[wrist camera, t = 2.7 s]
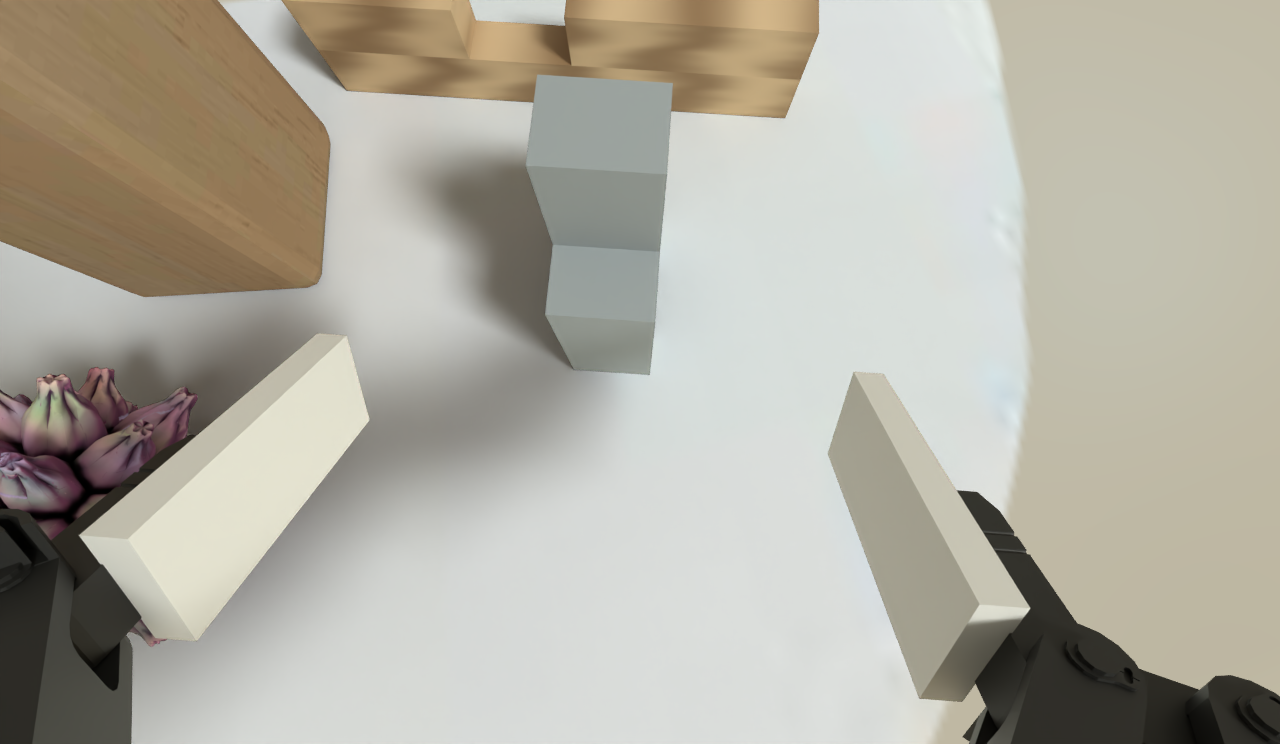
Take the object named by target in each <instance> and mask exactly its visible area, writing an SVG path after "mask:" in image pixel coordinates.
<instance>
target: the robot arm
mask: <svg viewBox="0 0 1280 744" xmlns="http://www.w3.org/2000/svg"><path fill="white" fill-rule="evenodd" d="M369 420H370V419H369V416H368V412H367V408H366V405H365V401H364V397H363V394H362V390H361V386H360V383H359V379H358V375H357V371H356V368H355V364H354V360H353V357H352V353H351V349H350V346H349V342H348V338H347V335H333V334H319V333H317V334H316V335H315V336H314V337H313V338H312V339H310V340H309V341H308V342H307V343H306V344H304V345H303V346H302V347H301V348H300V349H299V350H297V351H296V352H295V353H294V354H293V355H291V356H290V357H289V358H288V359H287V360H286V361H284V362H283V363H282V364H281V365H280V366H278V367H277V368H276V369H275V370H274V371H273V372H271V373H270V374H269V375H268V376H267V377H265V378H264V379H263V380H262V381H261V382H260V383H258V384H257V385H256V386H255V387H254V388H252V389H251V390H250V391H249V392H248V393H247V394H245V395H244V396H243V397H242V398H241V399H239V400H238V401H237V402H236V403H235V404H234V405H232V406H231V407H230V408H229V409H228V410H226V411H225V412H224V413H223V414H222V415H221V416H219V417H218V418H217V419H216V420H215V421H213V422H212V423H211V424H210V425H209V426H208V427H206V428H205V429H204V430H203V431H202V432H200V433H199V434H198V435H197V436H196V435H189V436H187V437H186V438H184V439H182V440H180V441H178V442H176V443H174V444H172V445H170V446H168V447H166V448H164V449H163V450H161V451H160V452H158V453H157V454H156V455H155V456H154V457H152V458H151V459H150V460H149V461H147V462H146V463H145V464H144V465H143V466H141V467H140V468H139V472H134V473H133V474H132V475H130V476H129V477H128V478H127V479H125V480H124V481H123V482H122V483H121V486H120V487H116V488H114V489H113V490H112V491H111V492H109V493H108V494H107V495H106V496H105V497H103V498H102V499H101V500H100V501H98V502H97V503H96V504H95V505H94V506H92V507H91V508H90V509H89V510H87V511H86V512H85V513H84V514H83V515H81V516H80V517H79V518H78V519H76V520H75V521H74V522H73V523H71V524H70V525H69V526H68V527H67V528H65V529H64V530H63V531H62V532H60V533H59V534H58V535H57V536H56V537H54V538H53V539H52V540H50V539H49V538H48V536H47V535H46V534H45V532H44V531H43V530H42V529H41V527H40V526H39V525H38V524H37V522H36V521H35V520H34V519H33V517H32V516H31V515H30V514H29V513H27V512H25V511H22V510H20V509H0V744H131V726H132V653H133V648H132V646H131V643H130V640H129V639H128V637H127V636H126V634H127V633H128V632H129V631H130V630H131V629H132V628H133V627H134V626H135V624H136V623H137V622H138V621H139V620H140V619H141V620H142V621H143V622H144V624H145V625H146V626H147V628H148V629H149V630H150V632H151V633H152V634H153V636H154V637H155V638H160V639H172V640H185V641H197V640H198V639H199V638H200V637H201V635H202V634H203V633H204V631H205V630H206V629H207V628H208V626H209V625H210V624H211V622H212V621H213V620H214V619H215V617H216V616H217V615H218V614H219V612H220V611H221V610H222V608H223V607H224V606H225V605H226V603H227V602H228V601H229V599H230V598H231V597H232V596H233V594H234V593H235V592H236V590H237V589H238V588H239V587H240V585H241V584H242V583H243V582H244V580H245V579H246V578H247V576H248V575H249V574H250V573H251V571H252V570H253V569H254V567H255V566H256V565H257V564H258V562H259V561H260V560H261V558H262V557H263V556H264V555H265V553H266V552H267V551H268V550H269V548H270V547H271V546H272V544H273V543H274V542H275V541H276V539H277V538H278V537H279V535H280V534H281V533H282V532H283V530H284V529H285V528H286V526H287V525H288V524H289V523H290V521H291V520H292V519H293V518H294V516H295V515H296V514H297V512H298V511H299V510H300V509H301V507H302V506H303V505H304V503H305V502H306V501H307V500H308V498H309V497H310V496H311V494H312V493H313V492H314V491H315V489H316V488H317V487H318V486H319V484H320V483H321V482H322V480H323V479H324V478H325V477H326V475H327V474H328V473H329V471H330V470H331V469H332V468H333V466H334V465H335V464H336V462H337V461H338V460H339V459H340V457H341V456H342V455H343V454H344V452H345V451H346V450H347V448H348V447H349V446H350V445H351V443H352V442H353V441H354V439H355V438H356V437H357V436H358V434H359V433H360V432H361V430H362V429H363V428H364V427H365V425H366V424H367V423H368V422H369ZM828 456H829V458H830V461H831V464H832V466H833V469H834V472H835V474H836V477H837V480H838V483H839V485H840V488H841V491H842V493H843V496H844V499H845V501H846V504H847V507H848V509H849V512H850V515H851V517H852V520H853V523H854V525H855V528H856V531H857V533H858V536H859V539H860V541H861V544H862V547H863V549H864V552H865V555H866V557H867V560H868V563H869V565H870V568H871V571H872V573H873V576H874V579H875V581H876V584H877V587H878V589H879V592H880V595H881V597H882V600H883V603H884V606H885V608H886V611H887V614H888V616H889V619H890V622H891V624H892V627H893V630H894V632H895V635H896V638H897V640H898V643H899V646H900V648H901V651H902V654H903V656H904V659H905V662H906V664H907V667H908V670H909V672H910V675H911V678H912V680H913V683H914V686H915V688H916V691H917V694H918V696H919V699H932V700H945V701H957V702H962V701H963V700H964V699H965V697H966V696H967V694H968V693H969V692H970V690H971V689H972V688H973V686H974V685H975V684H976V685H977V688H978V690H979V692H980V694H981V696H982V698H983V700H984V703H985V704H986V707H985V709H984V710H983V711H982V713H981V714H980V715H979V716H978V718H977V719H976V720H975V722H974V723H973V724H972V725H971V727H970V728H969V729H968V730H967V732H966V733H965V734H964V736H963V737H964V738H965V739H966V740H968V741H970V742H969V744H1280V696H1278V695H1277V694H1276V693H1274V692H1272V691H1270V690H1268V689H1266V688H1264V687H1262V686H1260V685H1258V684H1256V683H1254V682H1252V681H1249V680H1245V679H1242V678H1239V677H1235V676H1231V675H1228V676H1215V677H1214V678H1213V679H1212V680H1211V681H1209V682H1208V683H1207V684H1206V685H1205V686H1204V687H1202V688H1201V689H1200V690H1198V689H1195V688H1193V687H1190V686H1187V685H1184V684H1181V683H1178V682H1175V681H1172V680H1169V679H1166V678H1164V677H1161V676H1158V675H1155V674H1152V673H1149V672H1146V671H1143V670H1141V669H1139V668H1138V667H1137V665H1136V664H1135V662H1134V661H1133V660H1132V659H1131V658H1130V657H1129V656H1128V655H1127V654H1126V653H1125V652H1124V651H1123V650H1122V649H1121V648H1120V647H1119V646H1118V645H1117V644H1115V643H1114V642H1112V641H1111V640H1109V639H1108V638H1106V637H1105V636H1103V635H1102V634H1101V633H1099V632H1097V631H1094V630H1092V629H1090V628H1087V627H1085V626H1083V625H1080V624H1077V622H1076V621H1075V620H1074V618H1073V617H1072V615H1071V614H1070V613H1069V611H1068V610H1067V609H1066V607H1065V605H1064V604H1063V602H1062V601H1061V599H1060V598H1059V597H1058V595H1057V594H1056V592H1055V591H1054V589H1053V588H1052V586H1051V585H1050V583H1049V582H1048V581H1047V579H1046V578H1045V576H1044V575H1043V573H1042V572H1041V570H1040V569H1039V568H1038V566H1037V565H1036V563H1035V562H1034V560H1033V559H1032V557H1031V556H1030V555H1028V554H1027V553H1026V549H1025V547H1024V546H1023V545H1022V543H1021V541H1020V540H1019V539H1018V537H1015V536H1014V531H1013V530H1012V528H1011V527H1010V525H1009V524H1008V523H1007V521H1006V520H1005V518H1004V517H1003V515H1002V514H1001V512H1000V511H999V510H998V509H997V508H995V507H994V506H993V505H992V504H991V503H989V502H988V501H987V500H986V499H985V498H984V497H982V496H981V495H980V494H979V493H978V492H971V491H957V490H956V489H955V487H954V486H953V484H952V482H951V481H950V479H949V478H948V476H947V474H946V473H945V471H944V470H943V468H942V466H941V465H940V463H939V462H938V460H937V458H936V457H935V455H934V454H933V452H932V450H931V449H930V447H929V446H928V444H927V442H926V441H925V439H924V438H923V436H922V434H921V433H920V431H919V430H918V428H917V426H916V425H915V423H914V422H913V420H912V418H911V417H910V415H909V414H908V412H907V410H906V409H905V407H904V406H903V404H902V402H901V401H900V399H899V398H898V396H897V394H896V393H895V391H894V390H893V388H892V387H891V385H890V383H889V382H888V380H887V379H886V377H885V375H884V374H877V373H863V372H853V376H852V379H851V382H850V385H849V388H848V391H847V394H846V398H845V401H844V404H843V407H842V410H841V413H840V417H839V420H838V423H837V426H836V429H835V432H834V435H833V439H832V442H831V445H830V448H829V451H828Z"/></svg>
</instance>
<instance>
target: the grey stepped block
mask: <svg viewBox="0 0 1280 744" xmlns="http://www.w3.org/2000/svg"><path fill="white" fill-rule="evenodd" d="M672 88H673V83H663V82H647V81H631V80H615V79H599V78H583V77H567V76H551V75H537V80H536V88H535V96H534V104H533V111H532V119H531V127H530V135H529V142H528V150H527V158H526V168H527V171H528V174H529V177H530V180H531V183H532V186H533V188H534V191H535V194H536V197H537V200H538V203H539V206H540V209H541V212H542V215H543V218H544V220H545V223H546V226H547V229H548V232H549V235H550V238H551V241H552V244H553V248H552V257H551V266H550V275H549V284H548V293H547V302H546V310H545V316H546V318H547V320H548V321H549V323H550V325H551V327H552V329H553V331H554V333H555V335H556V337H557V339H558V340H559V342H560V344H561V346H562V348H563V350H564V352H565V354H566V356H567V358H568V359H569V361H570V363H571V365H572V367H573V369H574V370H586V371H601V372H615V373H630V374H645V375H650V367H651V357H652V348H653V338H654V329H655V317H656V302H657V287H658V271H659V256H660V244H661V233H662V223H663V212H664V201H665V190H666V179H667V166H668V151H669V135H670V120H671V104H672Z"/></svg>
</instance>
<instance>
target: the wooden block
mask: <svg viewBox="0 0 1280 744" xmlns="http://www.w3.org/2000/svg"><path fill="white" fill-rule="evenodd" d="M329 157H330V140H329V136H328V133H327V131H326V128H325V126H324V124H323V123H322V122H321V121H320V120H319V118H318V117H317V116H316V115H315V114H314V113H313V111H312V110H311V109H310V108H309V107H308V106H307V104H306V103H305V102H304V101H303V100H302V99H301V97H300V96H299V95H298V94H297V93H296V92H295V90H294V89H293V88H292V87H291V86H290V85H289V83H288V82H287V81H286V80H285V79H284V78H283V76H282V75H281V74H280V73H279V72H278V71H277V69H276V68H275V67H274V66H273V65H272V64H271V62H270V61H269V60H268V59H267V58H266V56H265V55H264V54H263V53H262V52H261V51H260V49H259V48H258V47H257V46H256V45H255V44H254V42H253V41H252V40H251V39H250V38H249V37H248V35H247V34H246V33H245V32H244V31H243V30H242V28H241V27H240V26H239V25H238V24H237V23H236V21H235V20H234V19H233V18H232V17H231V16H230V14H229V13H228V12H227V11H226V10H225V9H224V7H223V6H222V5H221V4H220V3H219V2H218V0H0V241H1V242H4V243H6V244H9V245H12V246H14V247H17V248H19V249H22V250H24V251H27V252H29V253H32V254H34V255H37V256H40V257H42V258H45V259H47V260H50V261H52V262H55V263H57V264H60V265H62V266H65V267H68V268H70V269H73V270H75V271H78V272H80V273H83V274H85V275H88V276H90V277H93V278H96V279H98V280H101V281H103V282H106V283H108V284H111V285H113V286H116V287H119V288H121V289H124V290H126V291H129V292H131V293H134V294H137V295H140V296H143V297H154V296H172V295H189V294H206V293H222V292H239V291H256V290H273V289H290V288H306V287H310V286H312V285H315V284H317V283H318V281H319V279H320V277H321V275H322V261H323V247H324V232H325V217H326V202H327V187H328V172H329Z"/></svg>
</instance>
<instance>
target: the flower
mask: <svg viewBox="0 0 1280 744" xmlns="http://www.w3.org/2000/svg"><path fill="white" fill-rule="evenodd" d="M36 382H37V396H36V399H35V400H34V401H33V403H32V401H31V400H30V399H29V398H27V397H26V396H24V395H23V394H19V395H17V396H16V397H15V398H12V397H10V396H9V395H7V394H5V393H4V392H2V391H1V390H0V509H20V510H22V511H25V512H27V513H29V514H30V515H31V516H32V517H33V519H34V520H35V521H36V522H37V524H38V525H39V526H40V527H41V529H42V530H43V531H44V532H45V534H46V535H47V536H48V538H49V539H50V540H52V539H53V538H54V537H56V536H57V535H58V534H59V533H60V532H62V531H63V530H64V529H65V528H67V527H68V526H69V525H70V524H71V523H73V522H74V521H75V520H76V519H78V518H79V517H80V516H81V515H83V514H84V513H85V512H86V511H87V510H89V509H90V508H91V507H92V506H94V505H95V504H96V503H97V502H98V501H100V500H101V499H102V498H103V497H105V496H106V495H107V494H108V493H109V492H111V491H112V490H113V489H114V488H116V487H120V486H121V483H122V482H123V481H124V480H125V479H127V478H128V477H129V476H130V475H132V474H133V473H134V472H139V468H140V467H141V466H143V465H144V464H145V463H146V462H147V461H149V460H150V459H151V458H152V457H154V456H155V455H156V454H157V453H158V452H160V451H161V450H163V449H164V448H166V447H168V446H170V445H172V444H174V443H176V442H178V441H180V440H182V439H184V438H186V436H187V432H188V430H187V429H188V423H189V415H190V411H191V409H192V407H193V406H194V405H195V403H196V401H197V399H198V397H197V394H194V393H188V389H187V388H186V387H180V388H178V389H176V390H175V391H174V392H173V393H172V394H171V395H170V396H169V397H168V398H166V399H165V400H163V401H161V402H157V403H154V404H151V405H148V406H145V407H142V408H140V409H138V407H137V405H136V406H134V405H133V404H132V403H131V402H128V401H125V400H124V399H123V398H122V396H121V394H120V393H119V391H118V390H117V388H116V387H115V383H114V370H113V369H110V370H109V369H108V368H104V369H99V368H97V367H95V368H91V369H90V370H89V372H88V376H87V379H86V382H85V384H84V385H83V386H82V387H81V389H80V390H79V391H78V392H76V391H75V390H74V389H73V387H72V384H71V381H70V379H69V378H68V377H67V376H66V375H65V374H61V375H58V376H56V375H51V374H48V375H47V376H45V377H43V378H41V377H39V378H37V380H36ZM129 632H133V633H135V634H138V635H139V636H141V637H142V638H143V639H144V640H145V641H146V643H147V644H148V645H149V646H153V645H154V644H159V643H160V641H165V640H167V639H160V638H155V637H154V636H153V634H152V633H151V632H150V630H149V629H148V628H147V626H146V625H145V624H144V622H143V621H142V620H141V619H140V620H139V621H138V622H137V623H136V624H135V626H134V627H133V628H132V629H131V630H130V631H129Z"/></svg>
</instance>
